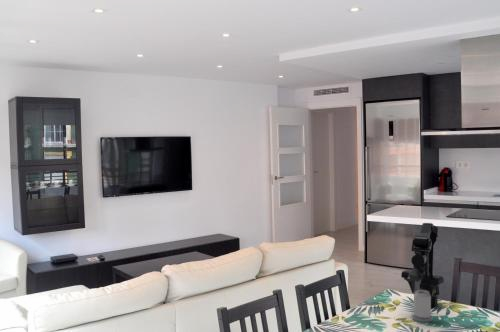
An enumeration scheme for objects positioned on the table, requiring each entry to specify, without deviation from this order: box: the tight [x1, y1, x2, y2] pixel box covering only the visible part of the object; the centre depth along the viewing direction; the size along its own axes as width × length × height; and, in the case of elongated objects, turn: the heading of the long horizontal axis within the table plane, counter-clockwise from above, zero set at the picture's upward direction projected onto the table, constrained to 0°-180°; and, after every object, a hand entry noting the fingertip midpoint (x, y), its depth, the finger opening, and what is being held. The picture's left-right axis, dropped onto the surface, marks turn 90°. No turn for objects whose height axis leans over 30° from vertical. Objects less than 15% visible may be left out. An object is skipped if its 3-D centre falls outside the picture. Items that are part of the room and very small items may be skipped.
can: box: [413, 289, 432, 319], centre depth 227 cm, size 8×8×12 cm
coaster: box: [411, 313, 434, 324], centre depth 228 cm, size 9×9×1 cm
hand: (422, 295), depth 227 cm, fingers open, 9 cm apart
